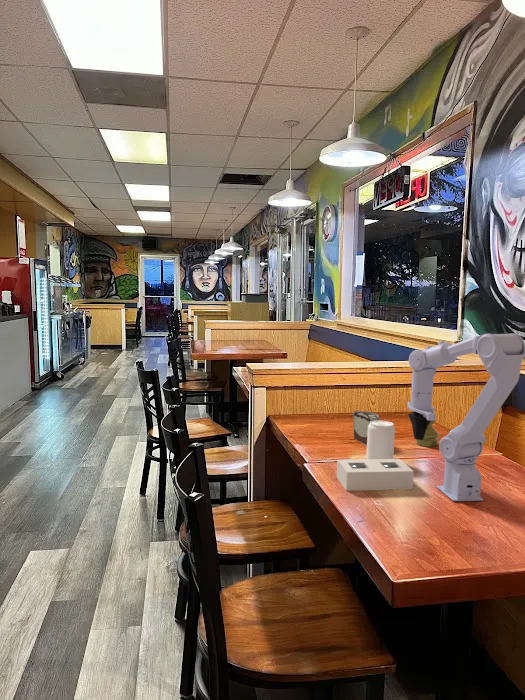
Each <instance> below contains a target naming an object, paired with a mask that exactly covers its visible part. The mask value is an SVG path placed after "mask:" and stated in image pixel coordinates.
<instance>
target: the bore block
mask: <svg viewBox="0 0 525 700" xmlns="http://www.w3.org/2000/svg"><path fill="white" fill-rule="evenodd" d="M353 463H360V464H364V465H365V466H366V468H356V469H352V467H351V464H353ZM384 463H394V464H397V465H398V468H385V467H384V466H383V464H384ZM414 472H415V470H413V469H412V468H411V467H410V466H409V465H407V464H406V463H405V462H404V461H403V460H402V459H400V458H393V459H367V458H364V459H361V458H359V459H358V458H357V459H354V458H353V459H337V460H336V478H337V480H338V481H339V482H340V484H341V485H342V487H343V488H344V490H345V491H347V492H349V491H351V492H353V491H355V492H356V491H361V492H362V491H391V490H390V489H413V488H414Z"/></svg>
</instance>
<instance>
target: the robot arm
mask: <svg viewBox="0 0 525 700" xmlns="http://www.w3.org/2000/svg"><path fill="white" fill-rule="evenodd" d="M470 354H474V355H478V357H479V358H480V361H481V363H482V364H483V366H484V368H485V370H486V372H487V373H488V374H489V375H490V377H489V379H488V380H487V382H486V383H485V385H484V386H483V388H482V390H481V391H480V393H479V395H478V396H477V398H476V400H475V401H474V403H473V404H472V406H471V407H470V409H469V411H468V413H466V416H465V417H464V419H463V420H462V422H461V423H460V424H459V425H457V426H456V427H454V428H452V429H451V430H449V433H448V434H447V435H444V436H442V437H441V439H440V441H439V443H438V447H439V452H440V454H441V455H442V457H443V460H445V461H444V472H443V475H444V476H443V484H441V485H437V486H436V488H437V489H438V490H439V491H441V492H442V493H443V494H444V495H446V496H447V497H448V498H449V499H451V501H453V502H476V501H478V502H479V501H482V502H483V500H484V498H483V497H481V487H482V475H481V472H480V471H479V469H477V467H476V461H478V457H479V456H481V454H483V453H482V452H483V451H484V444H485V442H486V440H487V438H486V436H485V434H484V433H485V431H486V430H487V428H488V427H489V425H490V424H491V423H492V421H493V419H495V417H496V416H497V414H498V412H499V410H500V409H501V407H502V406H503V404H504V403H505V402H506V400H507V399H508V397H509V395H510V394H511V393H512V391H513V390H514V389H515V387H516V385H518V381H519V379H520V376H521V368H522V363H523V360H524V359H525V340H524V338H523V337H522V336H521V335H519V334H518V333H515V332H514V333H511V332H510V333H499V334H498V333H484V334H479V335H475V336H473V337H469V338H467V339H464V340H462V341H460V342H456V343H454V344H452V343H450V342H447V341H438V342H437V345H434V346H429V345H428V346H425V348H424V349H415V350H413V351H411V352H410V354H409V357H408V364H409V366H410V369H412V374H411V392H410V401H406V402H407V404H406V409H408V410H410V411H412V412H410V413H408V414H407V416H408V418H409V421H410V423H411V427H412V432H413V433H412V434H413V437H414V439H415V441H416V440H423V438H424V435H425V432H426V429H427V427H428V425H429V423H430V422H431V421H435V419H436V413H435V412H434V411H436V408H435V406H433V405H432V403H433V392H434V391H433V390H434V389H433V388H434V378H435V375H436V371H437V369H438V368H439V367H440V368H441V367H443V366H448V365H451V364H453V363H455V362H456V360H457V358H458V357H461V356H466V355H467V356H468V355H470Z"/></svg>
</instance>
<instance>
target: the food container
mask: <svg viewBox="0 0 525 700" xmlns="http://www.w3.org/2000/svg"><path fill="white" fill-rule="evenodd" d="M352 418H353V419H352V420H353V440H354V439H355V440H354V441H356V440H357V441H356V442H358V441H359V442H358V443H360V442H361V443H360V444H362V445H364V446H366V447H367V435H368V425H369V424H370V421H374V420H380V416H379V414H377V413H375V412H371V411H365V410H364V411H362V410H353V411H352Z"/></svg>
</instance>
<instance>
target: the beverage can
mask: <svg viewBox="0 0 525 700" xmlns="http://www.w3.org/2000/svg"><path fill="white" fill-rule="evenodd" d="M395 433H396V427H395V425H394V423H393V422H391V421H387V420H374V421H370V424H369V425H368V435H367V446H366V453H365V455H366V458H365V459H394V454H395V453H394V452H395V437H396V435H395Z"/></svg>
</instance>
